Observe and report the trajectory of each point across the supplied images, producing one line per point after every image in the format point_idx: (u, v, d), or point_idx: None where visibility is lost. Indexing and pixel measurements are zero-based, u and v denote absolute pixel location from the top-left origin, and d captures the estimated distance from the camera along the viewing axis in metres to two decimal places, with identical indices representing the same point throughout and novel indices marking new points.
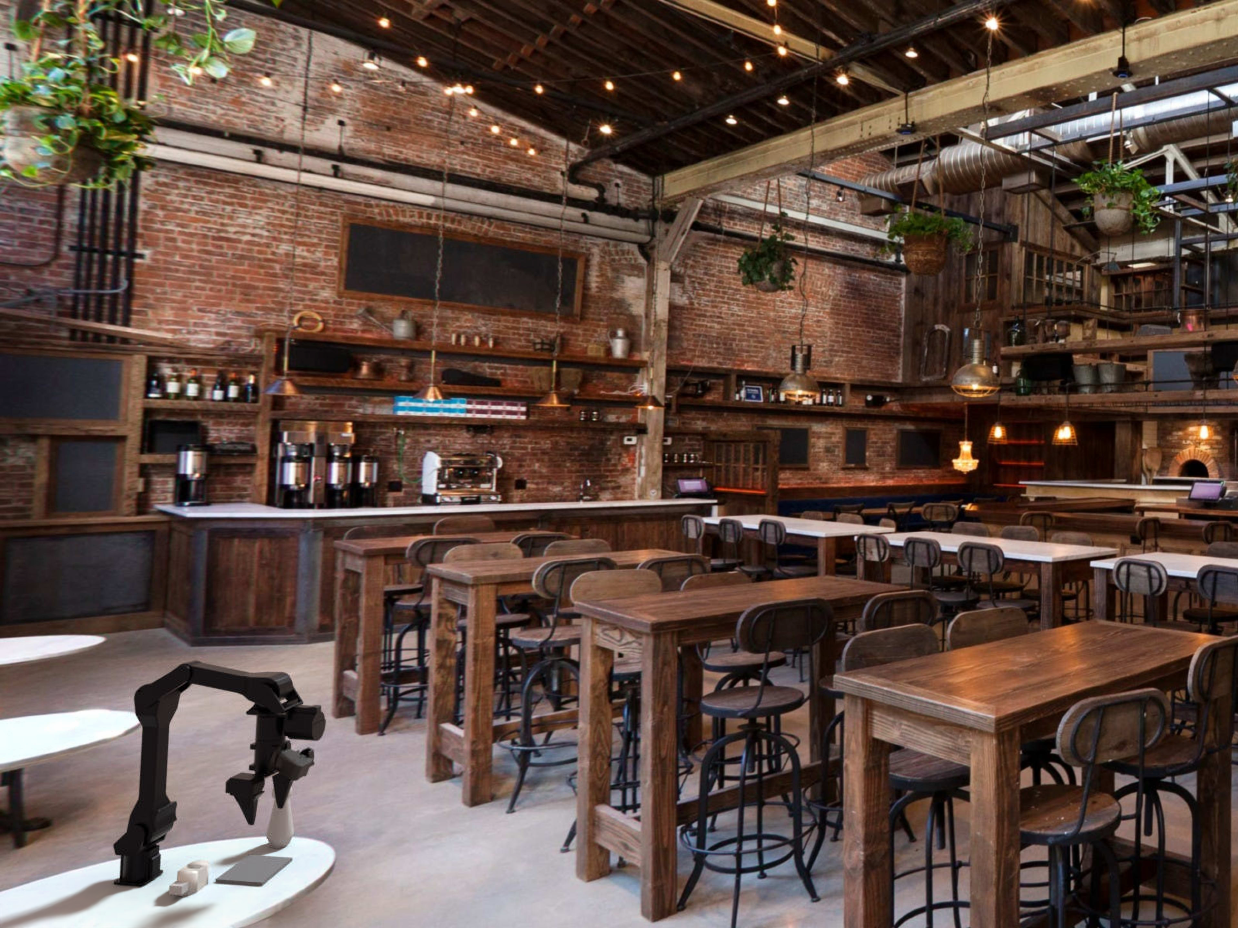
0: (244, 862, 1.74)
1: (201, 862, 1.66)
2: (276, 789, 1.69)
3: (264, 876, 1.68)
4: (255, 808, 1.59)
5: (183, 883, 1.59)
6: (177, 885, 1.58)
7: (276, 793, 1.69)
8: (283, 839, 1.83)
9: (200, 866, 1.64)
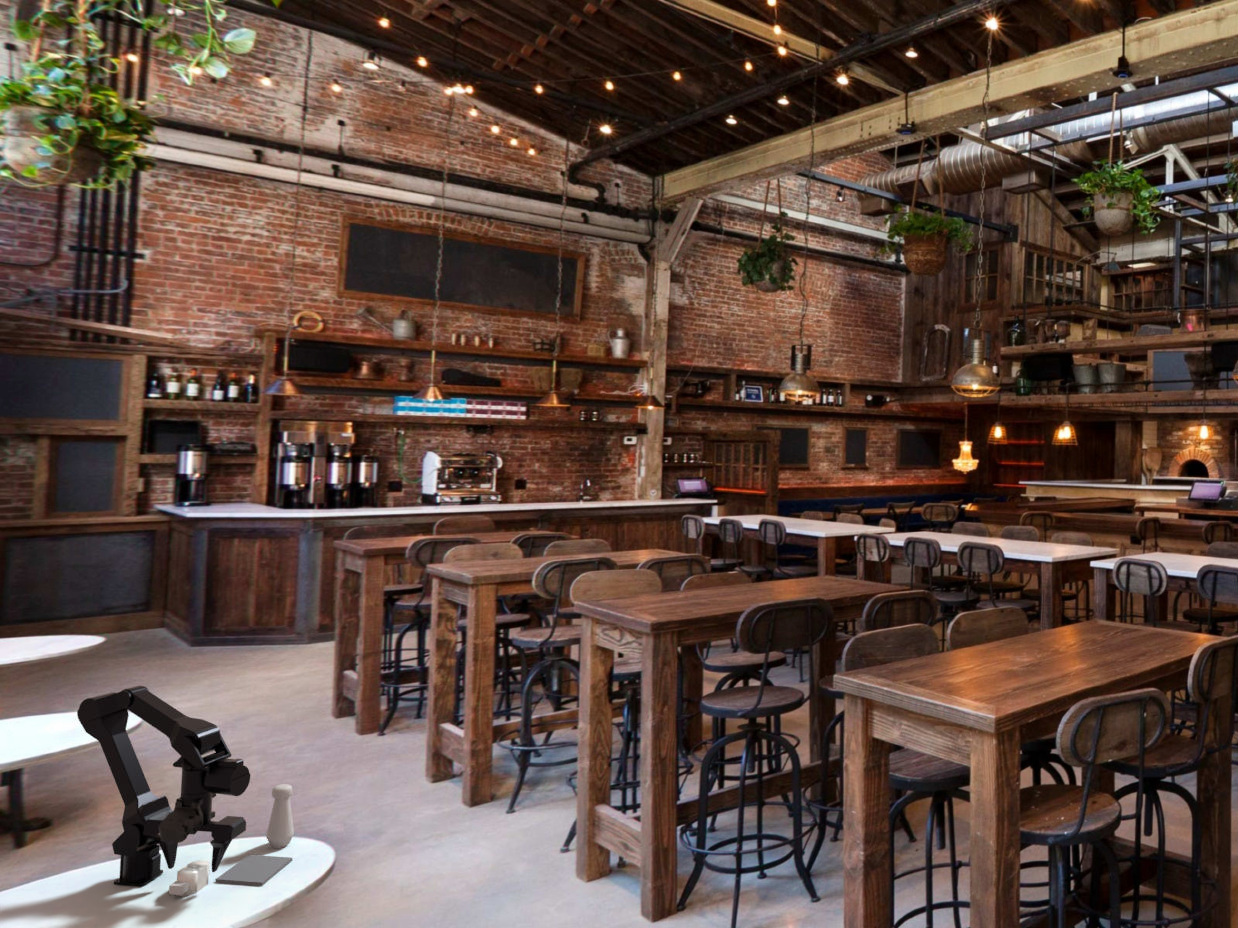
0: (244, 862, 1.74)
1: (201, 862, 1.66)
2: None
3: (264, 876, 1.68)
4: (165, 852, 1.63)
5: (183, 883, 1.59)
6: (177, 885, 1.58)
7: None
8: (283, 839, 1.83)
9: (200, 866, 1.64)
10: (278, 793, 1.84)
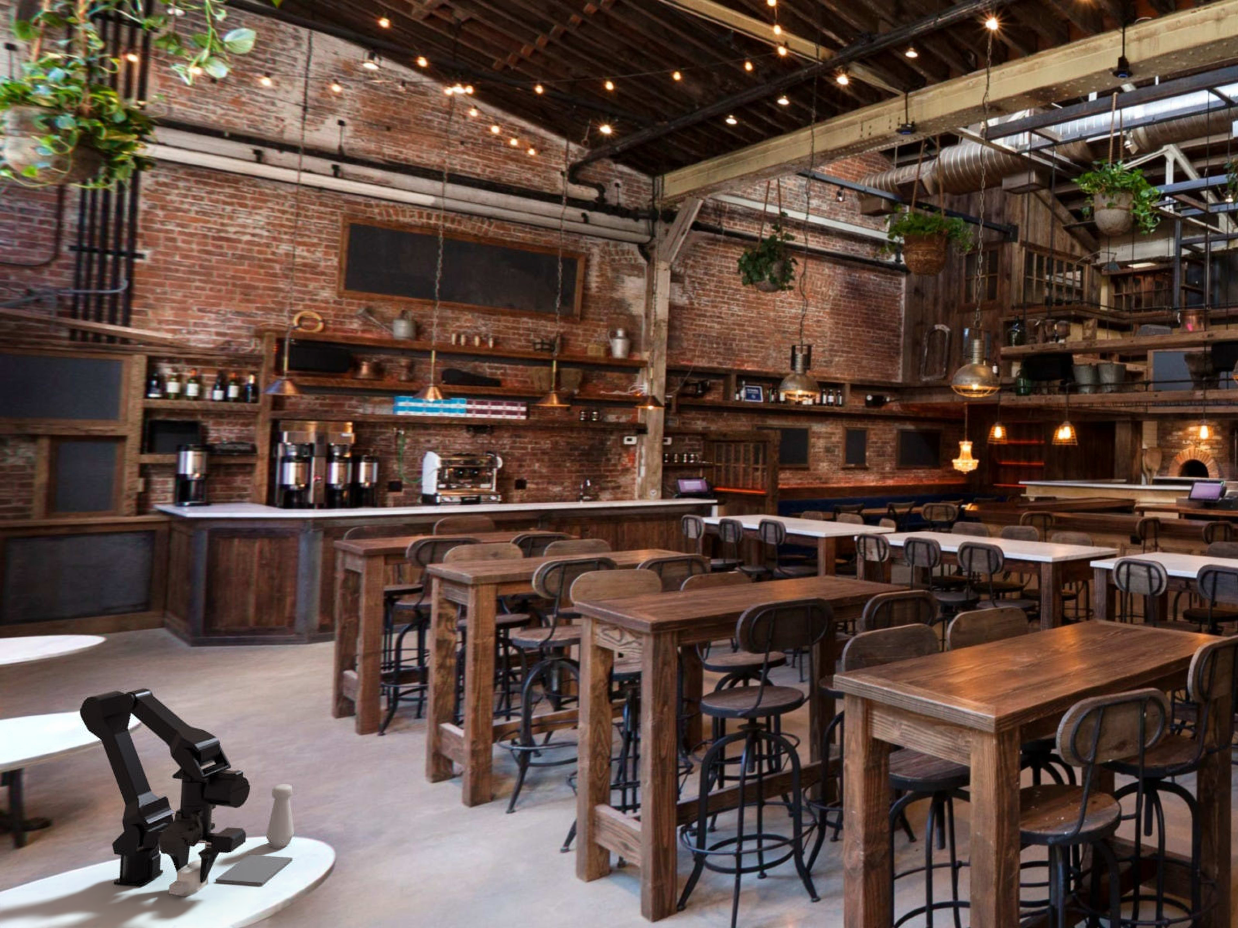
0: (244, 862, 1.74)
1: None
2: None
3: (264, 876, 1.68)
4: (176, 865, 1.63)
5: (183, 883, 1.59)
6: (177, 885, 1.58)
7: None
8: (283, 839, 1.83)
9: (200, 866, 1.64)
10: (278, 793, 1.84)
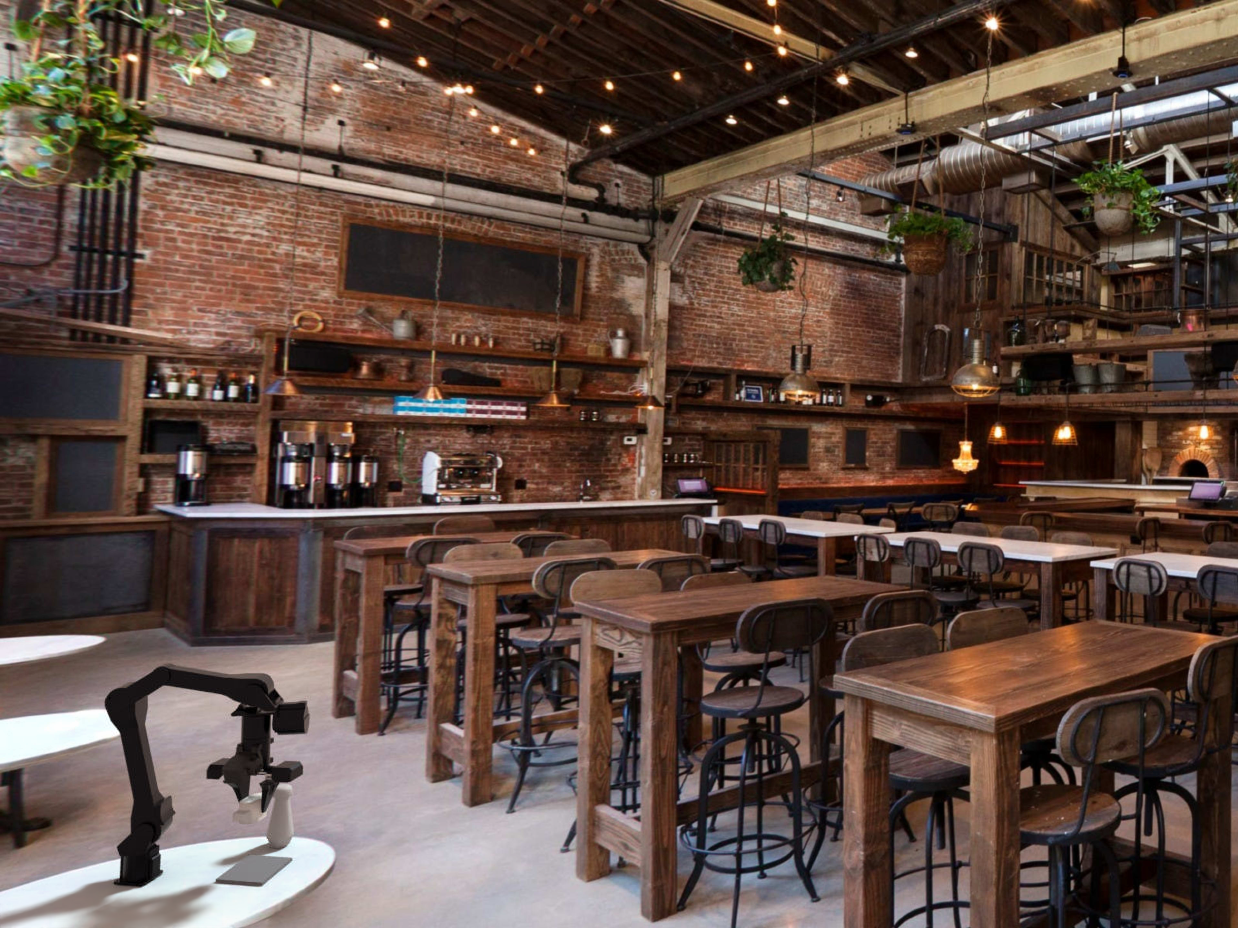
0: (244, 862, 1.74)
1: (261, 794, 1.74)
2: None
3: (264, 876, 1.68)
4: (238, 796, 1.71)
5: (245, 811, 1.67)
6: (240, 813, 1.66)
7: None
8: (283, 839, 1.83)
9: (260, 797, 1.71)
10: (278, 793, 1.84)
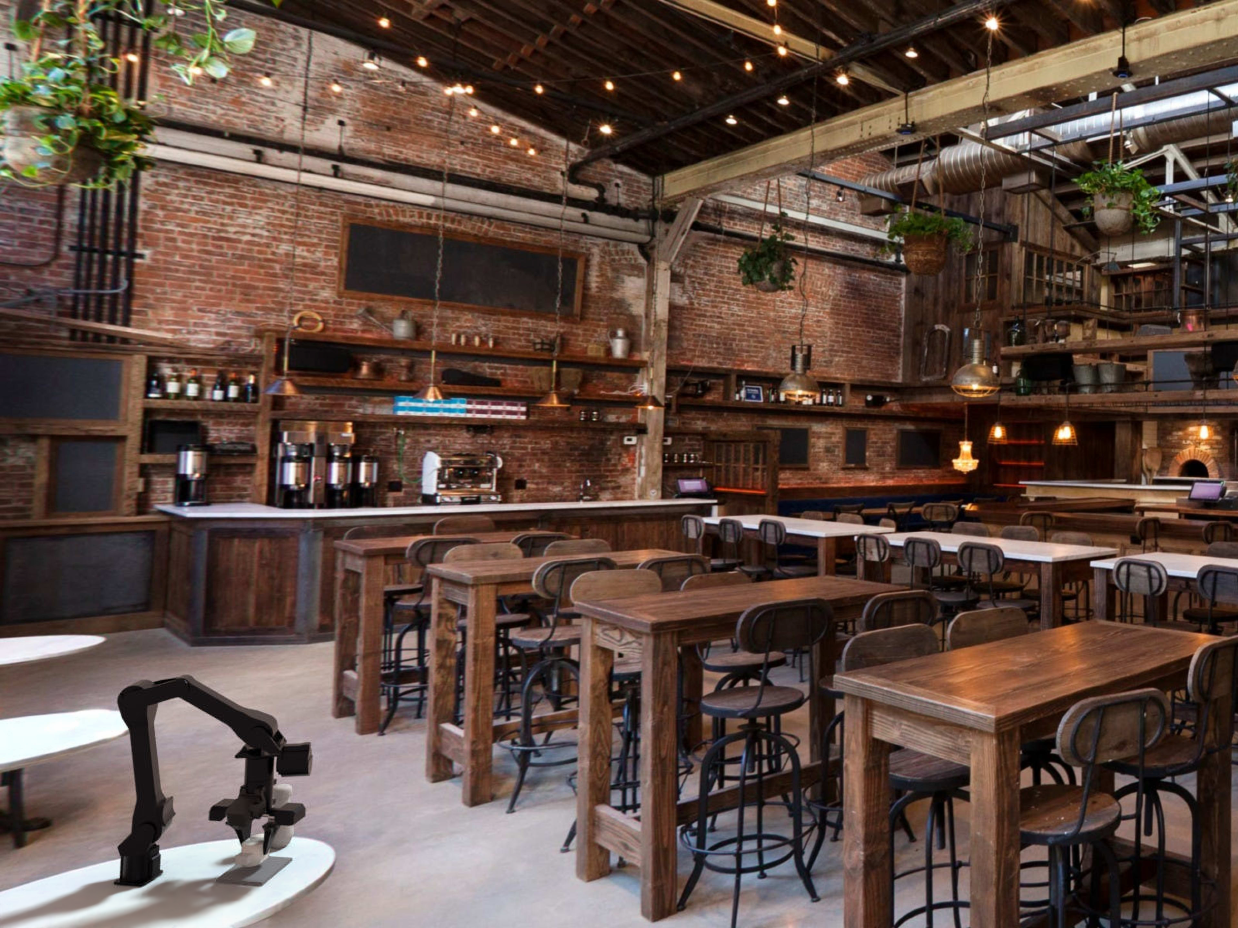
0: None
1: (262, 835, 1.74)
2: None
3: (264, 876, 1.68)
4: (240, 838, 1.71)
5: (248, 854, 1.67)
6: (242, 856, 1.66)
7: None
8: (283, 839, 1.83)
9: (262, 839, 1.72)
10: (278, 793, 1.84)
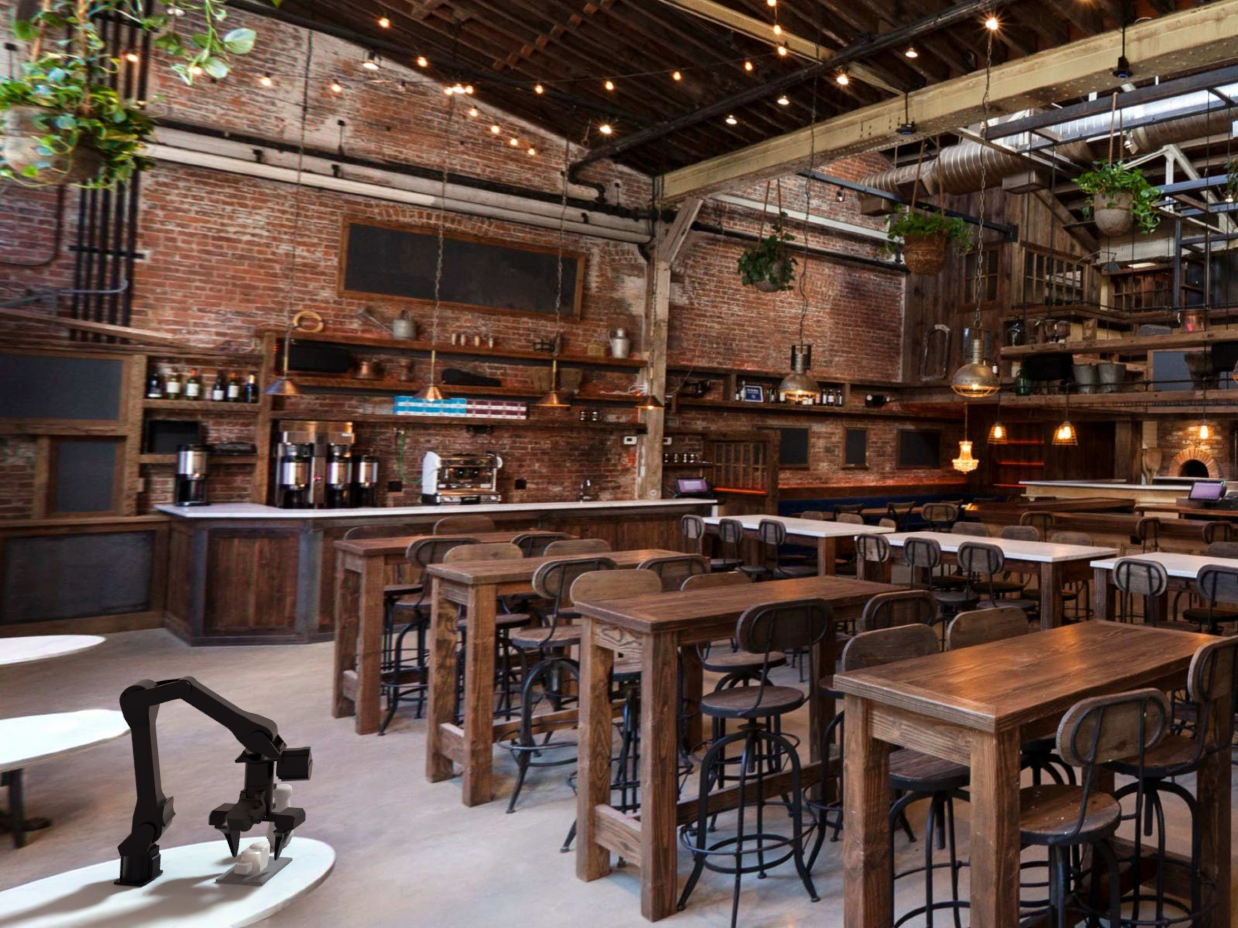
0: None
1: (262, 844, 1.74)
2: None
3: (264, 876, 1.68)
4: (229, 842, 1.71)
5: (247, 863, 1.67)
6: (242, 865, 1.66)
7: None
8: None
9: (262, 848, 1.72)
10: (278, 793, 1.84)
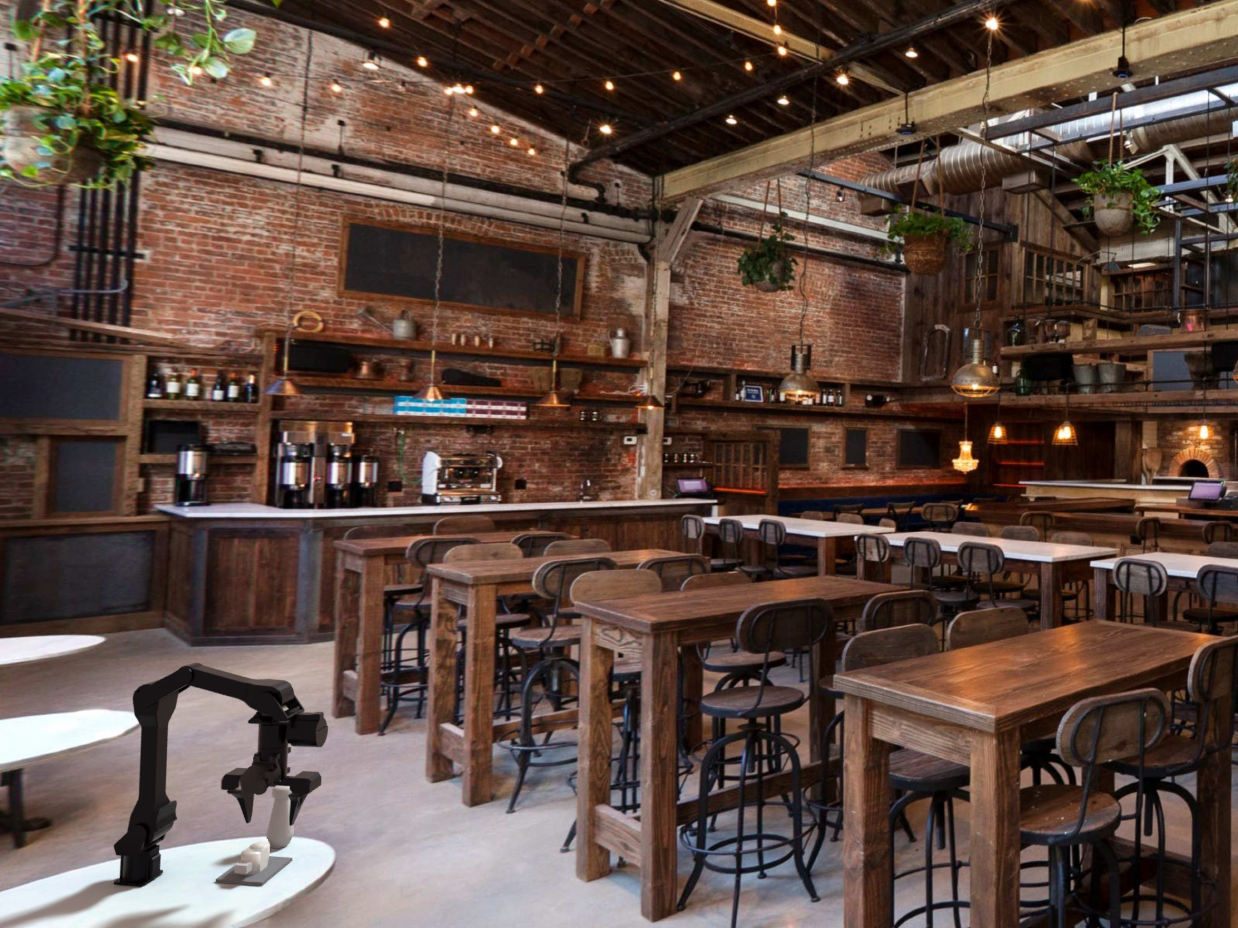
0: None
1: (262, 844, 1.74)
2: None
3: (264, 876, 1.68)
4: (243, 807, 1.65)
5: (247, 863, 1.67)
6: (242, 865, 1.66)
7: None
8: (283, 839, 1.83)
9: (262, 848, 1.72)
10: (278, 793, 1.84)
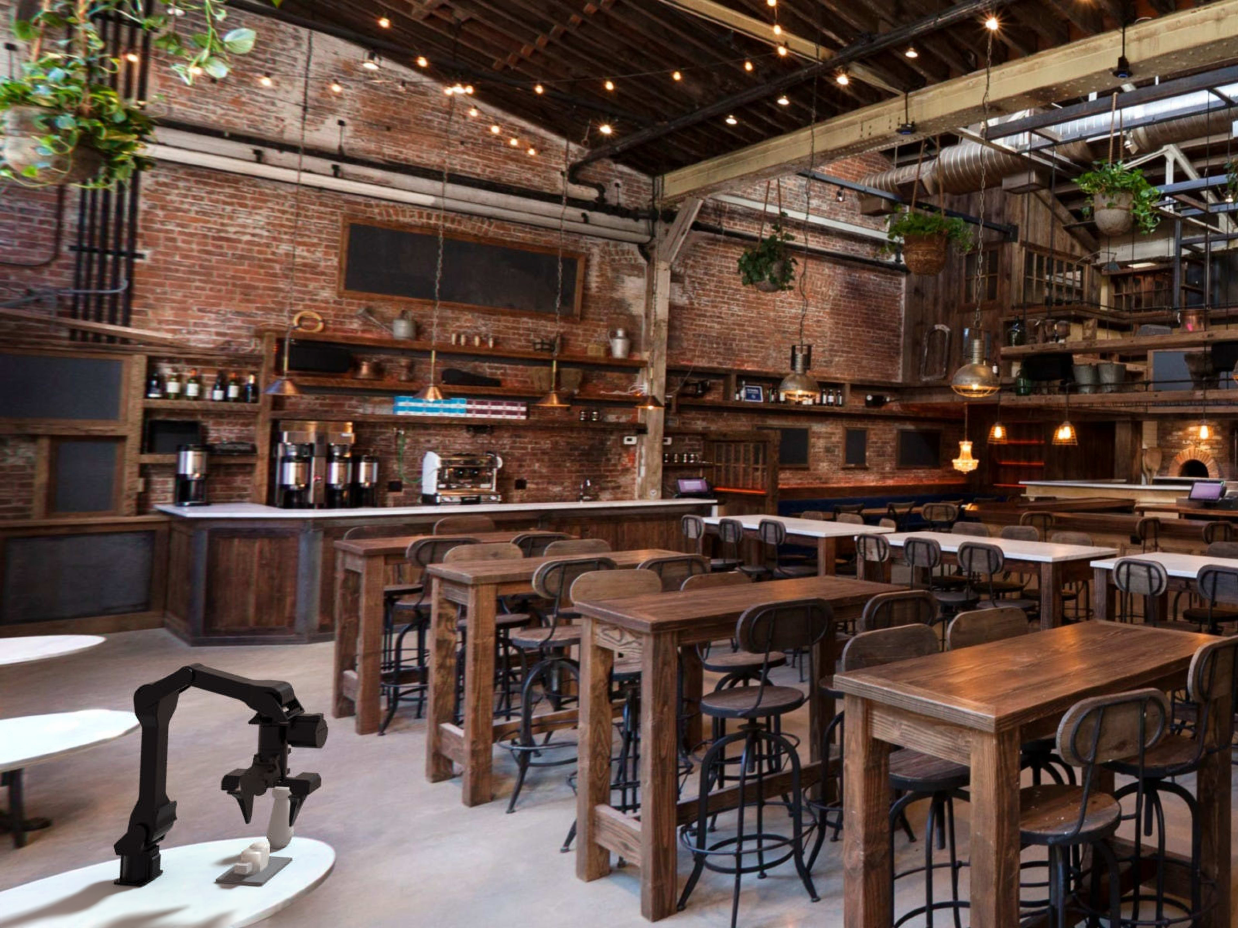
0: None
1: (262, 844, 1.74)
2: None
3: (264, 876, 1.68)
4: (242, 808, 1.65)
5: (247, 863, 1.67)
6: (242, 865, 1.66)
7: None
8: (283, 839, 1.83)
9: (262, 848, 1.72)
10: (278, 793, 1.84)
